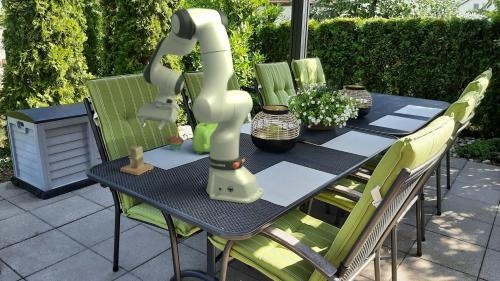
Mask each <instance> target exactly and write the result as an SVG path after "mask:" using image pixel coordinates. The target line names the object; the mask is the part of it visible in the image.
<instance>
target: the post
mask: <svg viewBox="0 0 500 281" xmlns="http://www.w3.org/2000/svg"><path fill="white" fill-rule="evenodd" d="M128 155H129V165H130V167H132V168H137V169H138V168H140V167H142V166H144V152H143V146H141V145H132V146H131V147H128Z"/></svg>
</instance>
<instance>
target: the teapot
mask: <svg viewBox="0 0 500 281" xmlns="http://www.w3.org/2000/svg"><path fill="white" fill-rule="evenodd" d="M217 125H218V123H215V124H206V123H201V122H199V123H198V124H197V125H196V126H195V128H194V132H193V134H192V140H191V141H192V142H191V144H192V147H193V149H194V150H195V152H196V154H197V153H202V154H203V153H204V152H206V153H207V152H209V153H210V136H211V134H212V133H213V132H214V130H215V129H216V127H217Z"/></svg>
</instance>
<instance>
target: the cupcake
mask: <svg viewBox="0 0 500 281" xmlns="http://www.w3.org/2000/svg"><path fill="white" fill-rule="evenodd" d="M175 134H176V135H174V136H170V137H168V138H167V140H166V144H168V145H169V147H170V149H172V150H171V151H173V150H178V151H181V149H182V146H183V144H184V139H183V137H181V136H179V135H178V134H179V128H176V133H175Z"/></svg>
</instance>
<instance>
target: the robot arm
mask: <svg viewBox="0 0 500 281" xmlns="http://www.w3.org/2000/svg"><path fill="white" fill-rule="evenodd" d="M170 18H171V19H170V25H171V26H170V27H171V30H170V33H169V34H168V35H166V36H162V38H161V39H160V40H159V42H158V44H156V46H155V49H154V51H153V53H152V55H151V57H150V58H149V61H148V63H147V65H146V66H145V67H144V69H143V74H142V77H143V79H144V81H145V83H147V84H150V85H154V86H156V87H158V88H160V89H159V91H158V92H157V93H156V95H155V97H154V99H153V101H152V102H151V101H147V102H145V103H144V104H143V105H142V106H141V107H140V108H139V110H138V111H137V114H136V115H137V117H138V118H139V119H140V122H141V123H140V127H141V128H146V126H147V125H146V123H147V121H152V122H156V123H157V122H158V123H159V124H156V125H157V126H156V129H157V130H158V131H162V128H164V127H165V126H166V125H167V124H171V125H173V124H174V123H175V122H177V119H178V116H179V112H180V111H181V107H180V106H179V104H178V103H177V102H176V101H175V100H176V98H177V97H178V96H179V95H180V94H181V93H182V91H183V88H184V87H185V84H186V81H185V78H184V75H183V74H181V73H180V72H178V71H176V70H173V69H171V68H169V67H167V66H165V65H162V64H161V63H160V62H161V60H162V59H163V56H164V55H166V56H167V55H171V56H177V57H183V56H187V55H189V54H190V53H192V52H193V51H194V49H195V46H196V45H197V42H198V43H199V51H200V57H201V65H202V75H203V77H202V78H203V80H202V87H201V90H200V92H199V94H198V96H197V98H196V99H195V100H194V103H193V105H192V111H193V114H194V117H195V119H196V120H197V121H198V122H199V123H206V124H215V123H217V124H218V125H217V127H216V129H215V130H214V132H213V133H212V134H211V136H210V152H209V155H208V168H209V173H208V181H207V186H206V189H205V192H206V194H208V196H209V198H210V200H217V201H218V200H219V201H225V202H233V203H240V204H251V203H254V202H256V201H258V200H259V199H261V197H263V195H264V189H263V188H262V187H259V185H258V179H257V177H256V176H255V175H254V174H253V173H251V171H250V170H248V169H247V168H246V167H245V166H244V164H243V163H244V162H245V158H244V157H243V159H242V158H241V156H240V154H239V152H240V150H239V149H240V135H241V131H242V128H243V125H244V123H245V120H246V118H247V116H248V115H249V114H250V113H251V111H252V110H253V107H254V106H253V105H254V103H253V98H252V97H251V96H252V95H250V94H249V93H248V92H247V91H245V90H239V89H231V90H227V87H228V82H229V81H230V79H231V78H232V77H233V76H234V73H235V72H234V69H235V68H234V63H233V57H232V56H233V55H232V49H231V44H230V40H229V36H228V33H227V30H228V28H229V20H228V17H227V15H226V13H225V12H224V11H223V10H220V9H216V8H213V9H211V8H201V7H191V8H179V9H176V10H174V11H173V13H172V15H171V17H170Z"/></svg>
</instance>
